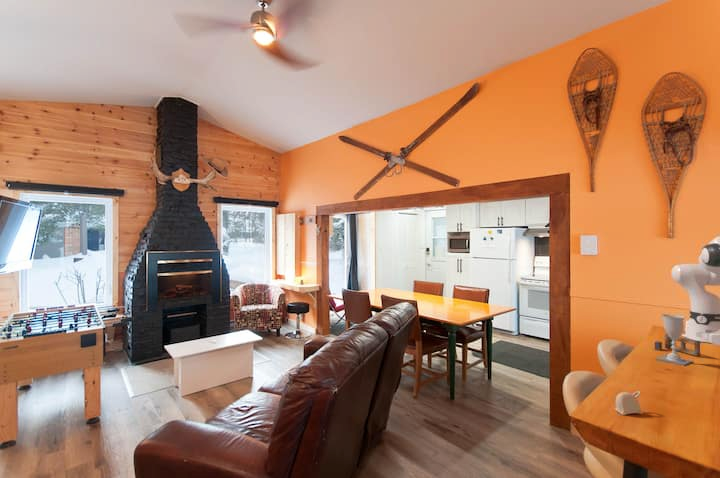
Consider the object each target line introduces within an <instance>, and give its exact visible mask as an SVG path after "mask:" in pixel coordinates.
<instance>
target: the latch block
mask: <svg viewBox="0 0 720 478" xmlns="http://www.w3.org/2000/svg"><path fill="white" fill-rule="evenodd" d="M654 350H655V351H662V350H663V342H662V341H658V340H656V341H654Z"/></svg>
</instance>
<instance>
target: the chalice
mask: <svg viewBox="0 0 720 478" xmlns="http://www.w3.org/2000/svg"><path fill="white" fill-rule="evenodd" d="M661 316H662V318H663V320H662V321H663V328H664V330H665V332H666V334H668V336H669V337H670V338H672V342H671V343H672V347H671V348H672V349H671V348H670V349H671V350H672V351H671V352H669V353H667V355H668V356H667V357H666V359H668V360H672V361H682V359H683V358H682V357H681V355H680V354H679V353H677V352H676V351H677V350H676V349H677V348H676V346H677V345H676V344H677V342H676V340H675V339H677V338H679V337H681V336H682V334H683V331H684V330H685V329H684V328H685V327H684V326H685V325H684V320H685V318H686V317H685V316H682V315H677V314H668V313H667V314H661ZM681 358H682V359H681Z"/></svg>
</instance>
